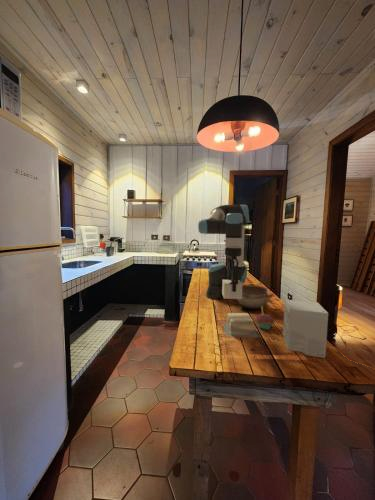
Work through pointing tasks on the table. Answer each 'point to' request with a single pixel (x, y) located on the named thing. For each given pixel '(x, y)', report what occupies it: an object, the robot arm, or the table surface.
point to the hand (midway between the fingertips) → (231, 295)
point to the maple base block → (240, 324)
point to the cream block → (227, 287)
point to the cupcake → (264, 320)
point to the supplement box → (305, 327)
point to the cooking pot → (254, 296)
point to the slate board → (237, 335)
